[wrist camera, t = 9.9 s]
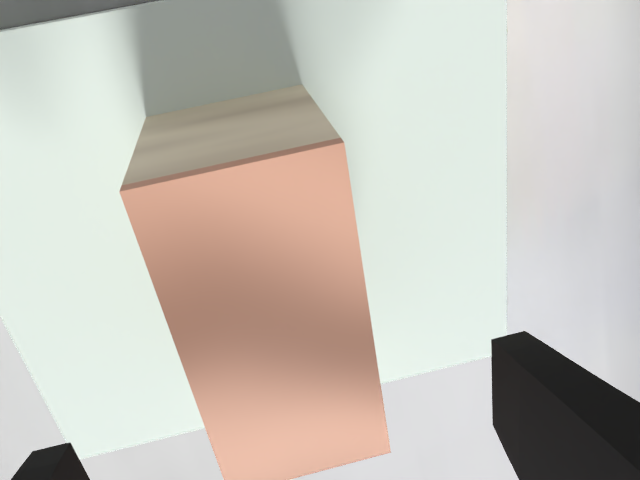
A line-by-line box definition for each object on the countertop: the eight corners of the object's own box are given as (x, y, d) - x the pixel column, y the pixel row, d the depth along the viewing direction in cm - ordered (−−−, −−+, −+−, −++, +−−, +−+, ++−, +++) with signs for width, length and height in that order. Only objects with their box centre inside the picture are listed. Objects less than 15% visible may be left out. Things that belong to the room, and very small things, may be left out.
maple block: (346, 332, 18) (390, 452, 14) (223, 362, 18) (229, 495, 14) (302, 84, 14) (344, 142, 10) (145, 116, 14) (119, 191, 10)
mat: (492, -62, 14) (506, -62, 14) (496, 339, 21) (506, 352, 20) (-119, 51, 13) (-136, 57, 13) (80, 442, 19) (75, 460, 19)
